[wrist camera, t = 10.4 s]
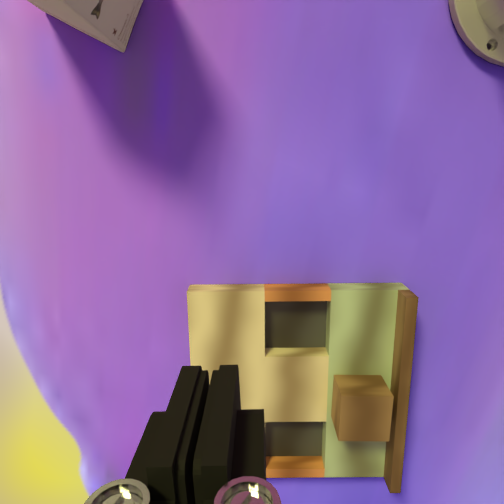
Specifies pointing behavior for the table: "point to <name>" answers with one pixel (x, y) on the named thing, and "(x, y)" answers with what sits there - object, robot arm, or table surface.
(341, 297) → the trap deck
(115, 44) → the supplement box
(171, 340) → the table surface
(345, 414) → the walnut block
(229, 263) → the table surface
